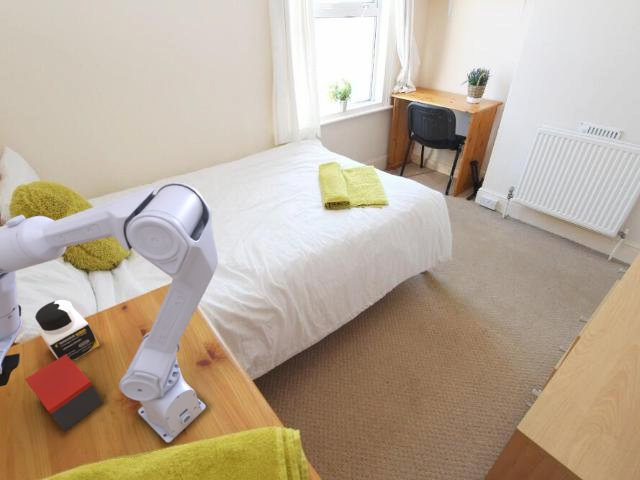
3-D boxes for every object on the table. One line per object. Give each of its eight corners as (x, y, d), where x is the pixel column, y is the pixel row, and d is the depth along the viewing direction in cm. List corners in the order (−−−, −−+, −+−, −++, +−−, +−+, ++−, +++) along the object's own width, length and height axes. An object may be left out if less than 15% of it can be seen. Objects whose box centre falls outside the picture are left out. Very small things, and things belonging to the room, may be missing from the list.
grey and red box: (103, 403, 63) (90, 381, 59) (64, 432, 58) (47, 410, 55) (79, 375, 68) (65, 354, 64) (41, 400, 63) (24, 379, 59)
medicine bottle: (64, 367, 69) (37, 326, 63) (50, 350, 73) (24, 310, 66) (100, 345, 74) (79, 305, 67) (86, 330, 78) (64, 291, 71)
